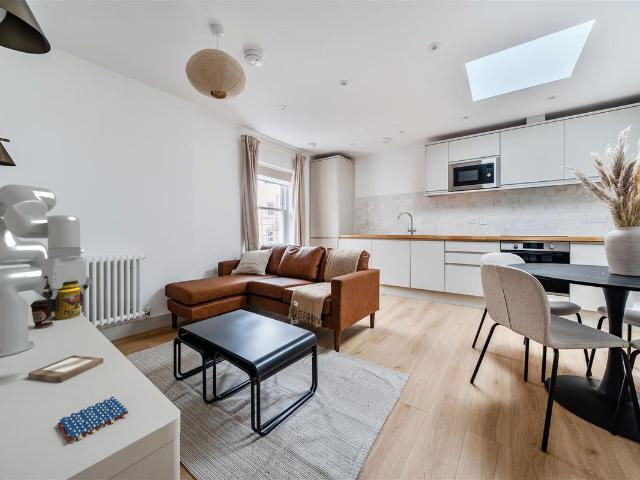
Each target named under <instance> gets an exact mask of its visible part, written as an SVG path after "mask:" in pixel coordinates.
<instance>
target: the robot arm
mask: <svg viewBox="0 0 640 480" xmlns="http://www.w3.org/2000/svg"><path fill="white" fill-rule="evenodd" d="M56 205H57V196H56V195H55V193H54V192H53V191H51V189H48V188H45V187H37V186H30V185H23V184H6V185H5V184H4V185H3V186H1V187H0V267H2V266H3V267H4V266H16V265H19V266H17V267H8V268H7V267H5V268H0V358H2V357H6V356H11V355H15V354H19V353H22V352H24V351H28V350H30V349H31V348H33V347H34V346H35V342H34V341H33V340H31V341H29V307H28V306H29V305H28V302H27V300H26V299H25V298H24V297H23V296H21V295H19V294H18V293H21V292H26V291H33V292H35V293H36V294H39V295H40V296H41V297H43V298H44V300H46V299H47V308H48V311H49V312H57V311H58V310H59V304H58V299H56V296H57V294H58V292H59V289H61V288H62V287H63V283H64V282H71V281H76V280H77V281H78V285H79V286H78V287H79V289H80V307H81V306H83V302H84V299H83V298H84V297H83V295H84V294H85V292H86V290H87V289H88V288H89V287H90V285H91V284H92V283H93V280H92V279H90V278H89V276H87V272H86V265H85V261H84V257H83V256H82V255H81V254H83V253H84V252H85V251H84V249H82V248H81V221H80V219H79V217H77V216H75V215H74V216H73V215H65V214H64V215H63V214H62V215H60V214H59V215H57V214H55V215H46V214H47V213H49V212H51V210H53V209H54V208H55V206H56ZM19 238H20V239H47V246H46V245H45V243H43V242H42V241H39V240H37V241H36V240H20V239H19ZM20 265H29V266H23V267H21V266H20Z"/></svg>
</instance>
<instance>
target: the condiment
mask: <svg viewBox="0 0 640 480" xmlns="http://www.w3.org/2000/svg"><path fill="white" fill-rule="evenodd" d="M78 286H79V285H78V281H77V280H76V281H71V282H64V283H63V287H62V288H61V289H59V292H58V294H57V296H56V299H58V304H59V310H58V311H57V312H54V316H51V317H49V318H48V319H47V320H45V321H44V322H42V323H45V322H53V323H54V322H60V321H69V320H76V319H79V318H81V317H82V316H83V315H84V312H82V311H81V306H80V289H79V287H78Z"/></svg>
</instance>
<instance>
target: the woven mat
mask: <svg viewBox="0 0 640 480" xmlns="http://www.w3.org/2000/svg"><path fill="white" fill-rule="evenodd" d="M128 413H129V411H128V410H127V407H125V405H124V404H123V405H122V402H121V403H120V400H118V399H117V398H115V396H111V397H109V398H107V399H103V400H102V401H101V402H96V403H95V404H92V405H90V406H88V407H86V408H84V409H83V408H82V409H80V410H78V411H77V412H73V413H71V414H69V415H68V416H64V417H62V418H60V419H59V422H57V426H58V430H60V432H61V433H62V434H63V436H65V437H64V440H65V439H66V442H68V443H70V445H73V444H75V441H77V440H78V441H80V440H82V439H83V438H84V437H85V438H87V437H90V436H89V434H90V433H91V434H95V433H96V430H98V429H100V430H102V429H101V428H103V426H104V428H107V425H112V423H113V424H114V421H115V420H118V419H119V420H118V421H117V422H119V421H120V418H122V416H123V418H122V419H126V417H127V416H128V415H127V414H128ZM101 422H102V423H101ZM115 422H116V421H115ZM110 423H111V424H110ZM106 424H107V425H106Z"/></svg>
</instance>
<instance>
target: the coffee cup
mask: <svg viewBox="0 0 640 480" xmlns="http://www.w3.org/2000/svg"><path fill="white" fill-rule="evenodd" d="M29 307H30V309H31V316H32V322H33V323H34V325H33V329H44V328H50V327H54V321H53V322H45V323H42V322H44V321H45V320H47V319H48V318H49V317H51V316H55V314H54V312H49V311H48V308H47V299H38V300H33V301H32V303H31V304H30V306H29Z"/></svg>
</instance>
